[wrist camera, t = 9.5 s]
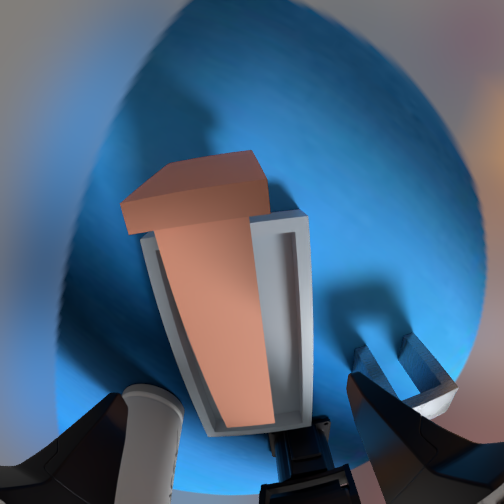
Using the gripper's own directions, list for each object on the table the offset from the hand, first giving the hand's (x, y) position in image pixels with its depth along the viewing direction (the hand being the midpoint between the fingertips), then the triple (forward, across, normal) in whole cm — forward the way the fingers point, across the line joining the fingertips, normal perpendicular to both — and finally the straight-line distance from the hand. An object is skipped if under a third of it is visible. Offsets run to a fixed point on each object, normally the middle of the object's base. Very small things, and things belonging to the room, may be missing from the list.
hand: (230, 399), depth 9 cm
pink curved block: (+8, 0, -1) cm, 8 cm away
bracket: (+10, -12, +9) cm, 18 cm away
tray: (+10, 0, +5) cm, 11 cm away
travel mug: (+10, +10, +12) cm, 19 cm away
